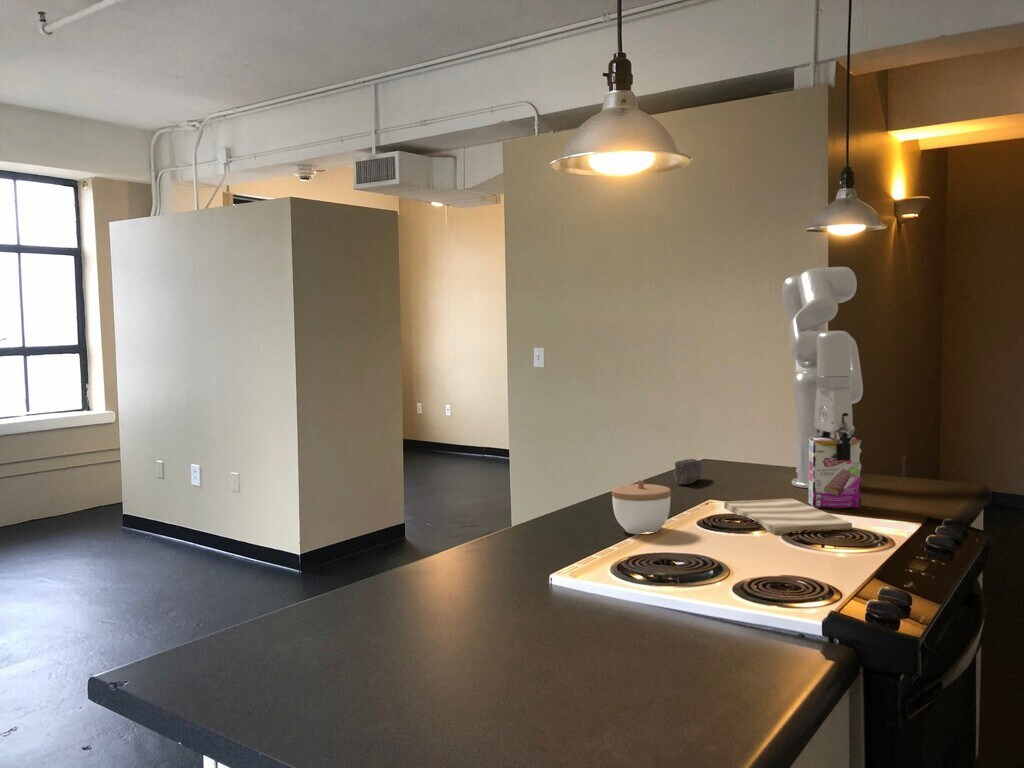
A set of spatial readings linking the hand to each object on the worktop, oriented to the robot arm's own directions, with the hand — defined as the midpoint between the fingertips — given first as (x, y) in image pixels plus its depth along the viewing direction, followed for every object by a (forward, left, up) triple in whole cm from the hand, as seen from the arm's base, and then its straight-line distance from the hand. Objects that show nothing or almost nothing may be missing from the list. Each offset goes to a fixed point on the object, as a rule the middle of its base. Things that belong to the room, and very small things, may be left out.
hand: (834, 457), depth 197 cm
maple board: (+9, -17, -12) cm, 23 cm away
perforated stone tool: (-41, -22, -12) cm, 48 cm away
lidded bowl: (+13, -51, -12) cm, 54 cm away
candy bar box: (0, 0, -12) cm, 12 cm away
